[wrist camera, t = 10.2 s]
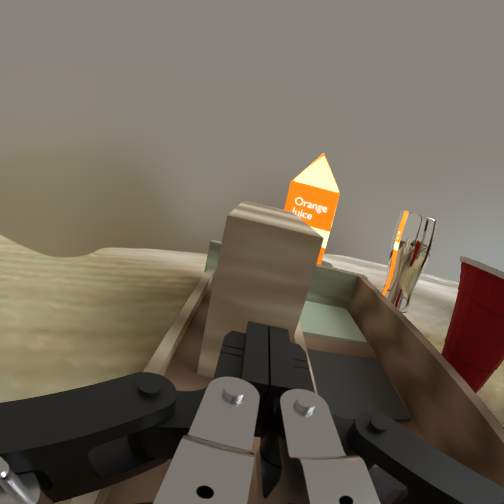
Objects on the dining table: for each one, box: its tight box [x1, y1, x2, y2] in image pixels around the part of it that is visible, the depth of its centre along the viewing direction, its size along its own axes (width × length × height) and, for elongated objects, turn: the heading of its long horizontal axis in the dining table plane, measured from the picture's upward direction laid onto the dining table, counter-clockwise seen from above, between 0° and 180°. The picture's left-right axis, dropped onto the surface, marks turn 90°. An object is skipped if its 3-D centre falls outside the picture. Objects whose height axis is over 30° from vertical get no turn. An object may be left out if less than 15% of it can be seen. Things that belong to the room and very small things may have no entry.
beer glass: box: [380, 210, 438, 312], centre depth 40 cm, size 7×7×15 cm
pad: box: [299, 301, 367, 344], centre depth 29 cm, size 8×7×1 cm
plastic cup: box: [441, 256, 504, 393], centre depth 19 cm, size 11×11×12 cm
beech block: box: [197, 201, 324, 378], centre depth 22 cm, size 14×5×10 cm, turn 178°
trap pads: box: [307, 349, 412, 490], centre depth 12 cm, size 20×7×1 cm, turn 178°
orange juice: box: [284, 154, 340, 265], centre depth 46 cm, size 8×9×20 cm
